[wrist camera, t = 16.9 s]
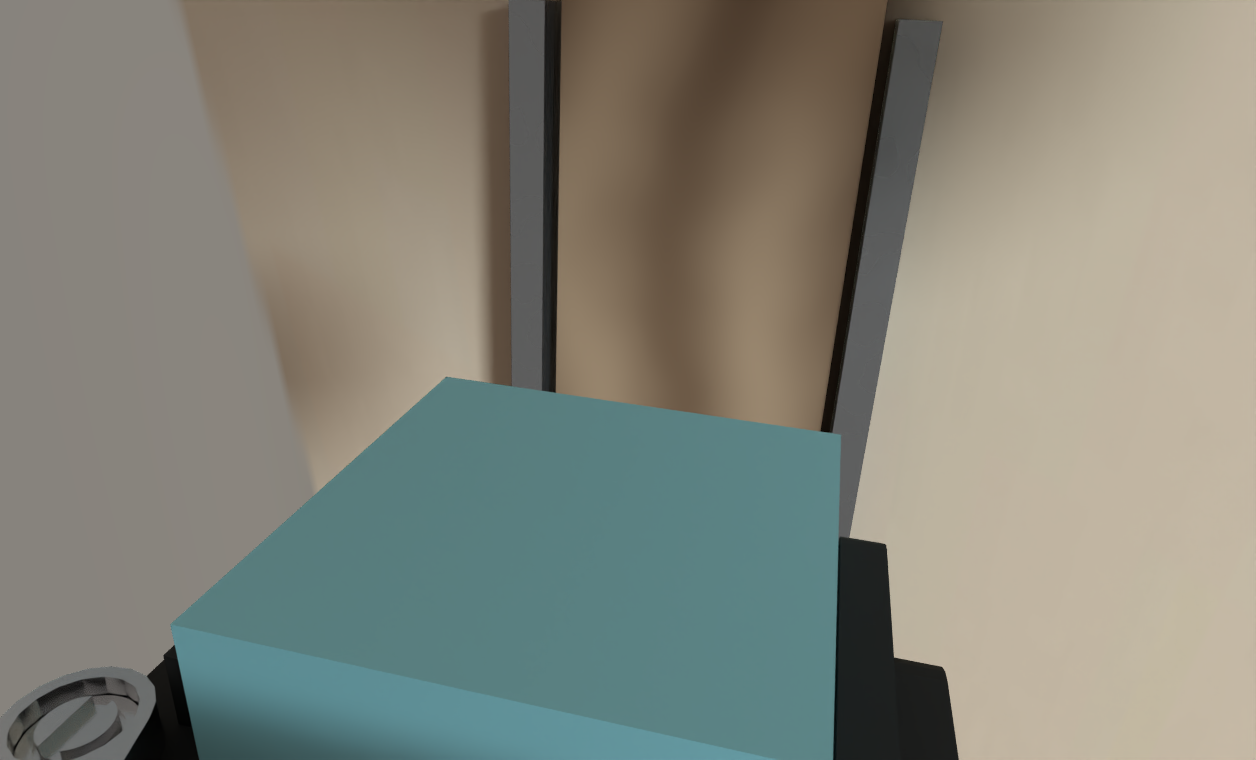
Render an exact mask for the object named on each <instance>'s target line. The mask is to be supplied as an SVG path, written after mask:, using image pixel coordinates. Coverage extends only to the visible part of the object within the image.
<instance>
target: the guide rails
mask: <svg viewBox="0 0 1256 760" xmlns="http://www.w3.org/2000/svg"><path fill="white" fill-rule="evenodd" d="M561 11H562V1H544V0H509V106H510V229H511V353H512V386H513V387H519V388H526V389H533V390H540V391H547V392H553V393H556V348H557V281H558V213H559V146H560V79H561ZM942 23H943V21H926V20H907V19H896V23H895V30H894V36H893V42H892V48H891V55H890V61H889V67H888V73H887V79H886V86H885V92H884V98H883V104H882V110H881V117H880V123H879V129H878V135H877V142H876V148H875V154H874V160H873V166H872V173H871V179H870V185H869V191H868V197H867V204H866V210H865V216H864V222H863V228H862V235H861V241H860V247H859V253H858V260H857V266H856V272H855V278H854V284H853V291H852V297H851V303H850V309H849V315H848V322H847V328H846V334H845V340H844V347H843V353H842V359H841V365H840V371H839V378H838V384H837V390H836V396H835V402H834V409H833V415H832V421H831V427H830V433H833V434H840V435H841V455H840V495H839V536H838V541H839V538H840V536H841V537H847V538H849V536H850V530H851V525H852V519H853V514H854V508H855V503H856V497H857V492H858V486H859V481H860V475H861V470H862V464H863V459H864V453H865V448H866V442H867V437H868V431H869V425H870V420H871V414H872V409H873V403H874V398H875V392H876V387H877V381H878V376H879V370H880V365H881V359H882V354H883V348H884V343H885V337H886V332H887V326H888V321H889V315H890V310H891V304H892V299H893V293H894V288H895V282H896V277H897V271H898V266H899V260H900V255H901V249H902V244H903V238H904V233H905V227H906V222H907V216H908V211H909V205H910V200H911V194H912V189H913V183H914V178H915V172H916V166H917V161H918V155H919V150H920V144H921V139H922V133H923V128H924V122H925V117H926V111H927V106H928V100H929V95H930V89H931V84H932V78H933V73H934V67H935V62H936V56H937V51H938V45H939V40H940V34H941V29H942Z"/></svg>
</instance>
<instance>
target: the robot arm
mask: <svg viewBox="0 0 1256 760" xmlns="http://www.w3.org/2000/svg"><path fill="white" fill-rule="evenodd" d="M0 760H199V756H198V752H197V747H196V742H195V738H194V733H193V728H192V723H191V719H190V714H189V709H188V705H187V700H186V695H185V691H184V686H183V681H182V677H181V672H180V667H179V663H178V658H177V653H176V648H175V645H174V646H173V647H172V648H171V649H170V650H169V651H168V652H167V653H165V654H164V660H163V661H162V662H161V663H160V664H159V665H158V666H157V667H156V668H155V669H154V670H153V671H152V672H151V673H150V674H149V675H148V676H145V675H143V674H141V673H139V672H137V671H135V670H133V669H128V668H119V667H112V666H111V667H101V668H91V669H86V670H82V671H79V672H75V673H71V674H67V675H64V676H62V677H59V678H57V679H55V680H53V681H50V682H49V683H46V684H44V685H42V686H39V687H38V688H36V689H35V690H33V691H32V692H30V693H29V694H27V695H26V696H24V697H23V698H21V699H20V700H18V701H17V702H16V703H15V704H14V705H13V706H12V707H11V708H10V709H8V710H7V712H5V714H3V715H2V716H1V717H0ZM833 760H959V759H958V752H957V745H956V738H955V731H954V724H953V717H952V710H951V703H950V696H949V689H948V682H947V677H946V673H945V671H944V669H943V668H942V667H940V666H935V665H929V664H924V663H919V662H914V661H909V660H904V659H899V658H894V652H893V637H892V621H891V606H890V591H889V575H888V560H887V548H886V545H885V544H882V543H876V542H870V541H864V540H859V539H853V538H847V537H841V536H840V538H839V541H838V576H837V616H836V656H835V697H834V737H833Z"/></svg>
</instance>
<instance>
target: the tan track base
mask: <svg viewBox="0 0 1256 760" xmlns="http://www.w3.org/2000/svg"><path fill="white" fill-rule="evenodd" d="M887 1H888V0H562V11H561V79H560V146H559V213H558V281H557V348H556V393H560V394H567V395H574V396H581V397H588V398H594V399H601V400H608V401H615V402H622V403H628V404H635V405H642V406H649V407H656V408H663V409H669V410H676V411H683V412H690V413H697V414H703V415H710V416H717V417H724V418H731V419H738V420H744V421H751V422H758V423H765V424H772V425H779V426H785V427H792V428H799V429H806V430H813V431H819V432H820V431H821V424H822V418H823V411H824V405H825V399H826V392H827V386H828V379H829V373H830V367H831V360H832V354H833V347H834V341H835V334H836V328H837V322H838V315H839V309H840V302H841V296H842V290H843V283H844V277H845V270H846V264H847V257H848V251H849V245H850V238H851V232H852V225H853V219H854V213H855V206H856V200H857V193H858V187H859V180H860V174H861V168H862V161H863V155H864V148H865V142H866V136H867V129H868V123H869V116H870V110H871V104H872V97H873V91H874V84H875V78H876V71H877V65H878V59H879V52H880V46H881V39H882V33H883V27H884V20H885V14H886V7H887Z"/></svg>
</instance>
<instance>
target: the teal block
mask: <svg viewBox="0 0 1256 760" xmlns="http://www.w3.org/2000/svg"><path fill="white" fill-rule="evenodd" d="M840 455H841V435H840V434H833V433H826V432H819V431H813V430H806V429H799V428H792V427H785V426H779V425H772V424H765V423H758V422H751V421H744V420H738V419H731V418H724V417H717V416H710V415H703V414H697V413H690V412H683V411H676V410H669V409H663V408H656V407H649V406H642V405H635V404H628V403H622V402H615V401H608V400H601V399H594V398H588V397H581V396H574V395H567V394H560V393H553V392H547V391H540V390H533V389H526V388H519V387H513V386H506V385H499V384H492V383H485V382H478V381H472V380H465V379H458V378H451V377H446V378H445V379H443V380H442V381H441V382H440V383H439V384H438V385H437V386H436V387H435V388H433V389H432V390H431V391H430V392H429V393H428V394H427V395H426V396H424V397H423V398H422V399H421V400H420V401H419V402H418V403H417V404H416V405H414V406H413V407H412V408H411V409H410V410H409V411H408V412H407V413H406V414H404V415H403V416H402V417H401V418H400V419H399V420H398V421H397V422H395V423H394V424H393V425H392V426H391V427H390V428H389V429H388V430H387V431H385V432H384V433H383V434H382V435H381V436H380V437H379V438H378V439H377V440H375V441H374V442H373V443H372V444H371V445H370V446H369V447H368V448H367V449H365V450H364V451H363V452H362V453H361V454H360V455H359V456H358V457H356V458H355V459H354V460H353V461H352V462H351V463H350V464H349V465H348V466H346V467H345V468H344V469H343V470H342V471H341V472H340V473H339V474H338V475H336V476H335V477H334V478H333V479H332V480H331V481H330V482H329V483H327V484H326V485H325V486H324V487H323V488H322V489H321V490H320V491H319V492H317V493H316V494H315V495H314V496H313V497H312V498H311V499H310V500H309V501H307V502H306V503H305V504H304V505H303V506H302V507H301V508H300V509H299V510H297V511H296V512H295V513H294V514H293V515H292V516H291V517H290V518H288V519H287V520H286V521H285V522H284V523H283V524H282V525H281V526H280V527H278V528H277V529H276V530H275V531H274V532H273V533H272V534H271V535H269V536H268V537H267V538H266V539H265V540H264V541H263V542H262V543H261V544H259V545H258V546H257V547H256V548H255V549H254V550H253V551H252V552H251V553H249V554H248V556H246V557H245V558H244V559H243V560H242V561H241V562H239V563H238V564H237V565H236V566H235V567H234V568H233V569H232V570H230V571H229V572H228V573H227V574H226V575H225V576H224V577H223V578H222V579H221V580H219V581H218V582H217V583H216V584H215V585H214V586H213V587H212V588H210V589H209V590H208V591H207V592H206V593H205V594H204V595H203V596H201V597H200V598H199V599H198V600H197V601H196V602H195V603H194V604H193V605H191V607H189V608H188V609H187V610H186V611H185V612H184V613H183V614H181V615H180V616H179V617H178V618H177V619H176V620H175V621H174V622H172V623H171V630H172V634H173V639H174V644H175V648H176V653H177V658H178V663H179V667H180V672H181V677H182V681H183V686H184V691H185V695H186V700H187V705H188V709H189V714H190V719H191V723H192V728H193V733H194V738H195V742H196V747H197V752H198V756H199V760H833V737H834V697H835V656H836V616H837V576H838V536H839V495H840Z"/></svg>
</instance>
